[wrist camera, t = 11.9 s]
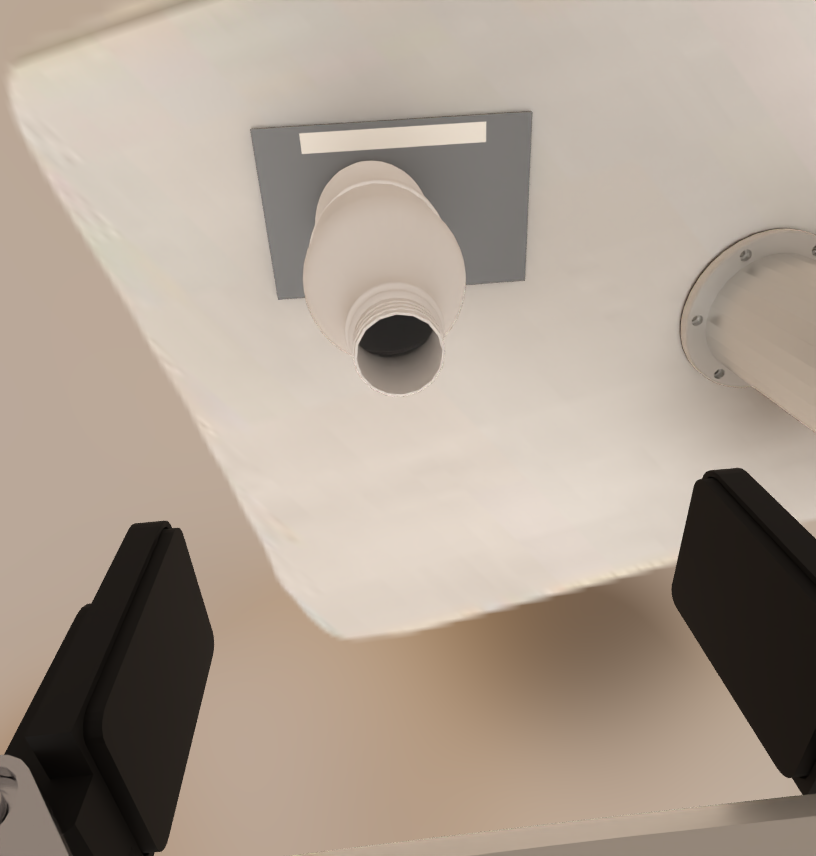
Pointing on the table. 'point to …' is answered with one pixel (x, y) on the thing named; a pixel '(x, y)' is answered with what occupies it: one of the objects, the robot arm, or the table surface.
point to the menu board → (425, 163)
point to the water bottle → (383, 276)
